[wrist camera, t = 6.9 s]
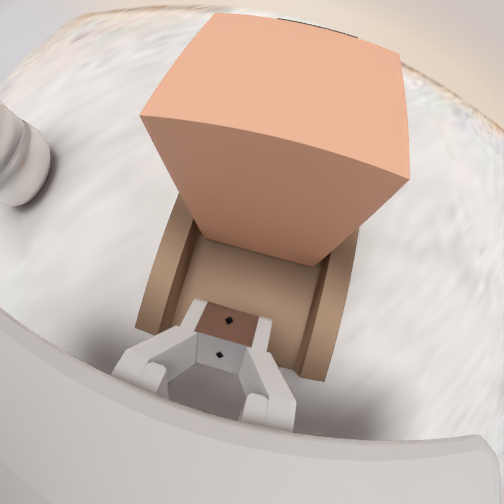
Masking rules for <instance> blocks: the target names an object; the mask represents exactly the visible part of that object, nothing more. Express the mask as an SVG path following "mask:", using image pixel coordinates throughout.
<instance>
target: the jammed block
mask: <svg viewBox="0 0 504 504" xmlns="http://www.w3.org/2000/svg"><path fill="white" fill-rule="evenodd" d="M140 117H141V119H142V121H143V123H144V125H145V127H146V129H147V131H148V133H149V135H150V137H151V139H152V141H153V143H154V145H155V147H156V149H157V151H158V153H159V155H160V157H161V158H162V160H163V162H164V164H165V166H166V168H167V170H168V172H169V174H170V176H171V178H172V179H173V181H174V183H175V185H176V187H177V189H178V191H179V193H180V194H181V196H182V198H183V200H184V202H185V204H186V206H187V207H188V209H189V211H190V213H191V215H192V217H193V218H194V220H195V222H196V224H197V226H198V227H199V229H200V231H201V233H202V235H203V236H204V238H206V239H210V240H213V241H217V242H221V243H224V244H228V245H232V246H236V247H239V248H243V249H247V250H251V251H254V252H258V253H262V254H265V255H269V256H273V257H277V258H280V259H284V260H288V261H291V262H295V263H299V264H303V265H306V266H310V267H314V266H315V265H316V264H318V263H319V262H320V261H321V260H322V259H323V258H324V257H326V256H327V255H328V254H329V253H330V252H331V251H333V250H334V249H335V248H336V247H337V246H338V245H339V244H340V243H342V242H343V241H344V240H345V239H346V238H347V237H348V236H349V235H351V234H352V233H353V232H354V231H355V230H356V229H357V228H358V227H359V226H361V225H362V224H363V223H364V222H365V221H366V220H367V219H368V218H369V217H370V216H372V215H373V214H374V213H375V212H376V211H377V210H378V209H379V208H380V207H381V206H382V205H383V204H384V203H385V202H387V201H388V200H389V199H390V198H391V197H392V196H393V195H394V194H395V193H396V192H397V191H398V190H399V189H400V188H401V187H402V186H403V185H404V184H405V183H406V182H407V181H408V180H409V179H410V164H409V134H408V119H407V108H406V98H405V90H404V82H403V75H402V69H401V63H400V58H399V54H398V53H395V52H393V51H391V50H388V49H386V48H383V47H380V46H378V45H375V44H372V43H369V42H366V41H364V40H361V39H358V38H355V37H352V36H348V35H345V34H342V33H338V32H335V31H331V30H327V29H323V28H319V27H315V26H311V25H306V24H302V23H297V22H291V21H286V20H280V19H274V18H267V17H259V16H250V15H240V14H225V13H215V14H214V15H213V16H212V17H211V18H210V19H209V21H208V22H207V23H206V24H205V25H204V26H203V27H202V29H201V30H200V31H199V32H198V33H197V35H196V36H195V37H194V38H193V39H192V41H191V42H190V43H189V44H188V46H187V47H186V48H185V49H184V51H183V52H182V53H181V55H180V56H179V57H178V59H177V60H176V61H175V63H174V64H173V65H172V67H171V68H170V69H169V71H168V72H167V74H166V75H165V76H164V78H163V79H162V81H161V82H160V84H159V85H158V87H157V88H156V90H155V91H154V93H153V94H152V96H151V97H150V99H149V100H148V102H147V104H146V105H145V107H144V108H143V110H142V112H141V113H140Z"/></svg>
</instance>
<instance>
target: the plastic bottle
mask: <svg viewBox="0 0 504 504" xmlns="http://www.w3.org/2000/svg"><path fill="white" fill-rule="evenodd" d="M50 163H51V159H50V149H49V145H48V144H47V142H46V141H45V139H44V137H43V136H42V134H41V132H39V131H38V130H37V129H35V128H34V127H33V126H31V125H30V124H29V123H27V122H25V121H24V120H21V119H20V118H19V117H17V116H16V115H15V114H14V113H13V112H12V111H11V110H9V109H8V108H7V107H6V106H5V105H4V104H2V103H1V102H0V203H1V204H4V205H7V206H11V207H15V206H19V205H22V204H25V203H27V202H29V201H30V200H31V199H32V198H33V197H34V196H35V195H36V194H37V193H38V192H39V190H40V189H41V187H42V186H43V184H44V182H45V180H46V178H47V175H48V173H49V169H50Z"/></svg>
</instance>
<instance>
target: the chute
mask: <svg viewBox="0 0 504 504" xmlns="http://www.w3.org/2000/svg"><path fill="white" fill-rule="evenodd" d="M278 19H280V18H278ZM280 20H286V19H280ZM286 21H291V20H286ZM291 22H297V21H291ZM297 23H302V22H297ZM302 24H306V23H302ZM306 25H311V24H306ZM311 26H315V25H311ZM315 27H319V26H315ZM319 28H323V27H319ZM323 29H327V28H323ZM327 30H331V29H327ZM331 31H334V30H331ZM335 32H338V31H335ZM338 33H342V32H338ZM342 34H345V33H342ZM345 35H348V34H345ZM348 36H352V35H348ZM352 37H355V36H352ZM355 38H357V37H355ZM358 232H359V227H358V228H357V229H356V230H355V231H354V232H353V233H352V234H351V235H349V236H348V237H347V238H346V239H345V240H344V241H343V242H342V243H340V244H339V245H338V246H337V247H336V248H335V249H334V250H333V251H331V252H330V253H329V254H328V255H327V256H326V257H324V258H323V259H322V260H321V261H320V262H319V263H318V264H316V265H315V266H314V267H310V266H306V265H303V264H299V263H295V262H291V261H288V260H284V259H280V258H277V257H273V256H269V255H265V254H262V253H258V252H254V251H251V250H247V249H243V248H239V247H236V246H232V245H228V244H224V243H221V242H217V241H213V240H210V239H206V238H204V236H203V235H202V233H201V231H200V229H199V227H198V226H197V224H196V222H195V220H194V218H193V217H192V215H191V213H190V211H189V209H188V207H187V206H186V204H185V202H184V200H183V198H182V196H181V194H180V193H179V194H178V197H177V199H176V202H175V205H174V207H173V210H172V213H171V215H170V218H169V221H168V223H167V226H166V229H165V232H164V235H163V237H162V240H161V243H160V246H159V249H158V252H157V255H156V258H155V261H154V264H153V267H152V270H151V273H150V277H149V280H148V283H147V286H146V290H145V293H144V296H143V300H142V303H141V307H140V310H139V314H138V318H137V321H136V325H135V328H137V329H140V330H142V331H145V332H147V333H150V334H153V335H157V334H159V333H162V332H164V331H166V330H168V329H170V328H172V327H174V326H179V327H180V325H181V323H182V321H183V319H184V317H185V315H186V313H187V311H188V310H189V308H190V306H191V304H192V302H193V300H194V299H195V298H199V299H202V300H205V301H208V302H212V303H215V304H218V305H222V306H225V307H228V308H231V309H235V310H239V311H243V312H247V313H250V314H254V315H258V316H262V317H266V318H270V319H272V327H271V332H270V337H269V342H268V347H267V352H269V353H271V355H272V357H273V359H274V360H275V362H276V364H277V366H280V367H284V368H288V369H293V370H294V371H295V372H296V373H297V374H298V376H299V377H302V378H307V379H312V380H317V381H322V382H324V381H325V378H326V374H327V371H328V368H329V364H330V361H331V357H332V354H333V350H334V346H335V342H336V339H337V335H338V331H339V327H340V323H341V318H342V314H343V310H344V306H345V301H346V297H347V292H348V287H349V282H350V277H351V272H352V267H353V261H354V256H355V250H356V244H357V238H358Z"/></svg>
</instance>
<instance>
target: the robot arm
mask: <svg viewBox="0 0 504 504" xmlns="http://www.w3.org/2000/svg"><path fill="white" fill-rule="evenodd" d="M271 327H272V319H270V318H266V317H262V316H258V315H254V314H250V313H247V312H243V311H239V310H235V309H231V308H228V307H225V306H222V305H218V304H215V303H212V302H208V301H205V300H202V299H199V298H195V299H194V300H193V302H192V304H191V306H190V308H189V310H188V311H187V313H186V315H185V317H184V319H183V321H182V323H181V325H180V327H179V326H174V327H172V328H170V329H168V330H166V331H164V332H162V333H159V334H157V335H155V336H153V337H151V338H149V339H147V340H145V341H143V342H141V343H139V344H137V345H135V346H133V347H130V348H128V349H126V350H125V352H124V353H123V355H122V357H121V358H120V360H119V361H118V363H117V365H116V366H115V368H114V369H113V371H112V373H111V374H110V375H108V374H106V373H104V372H102V371H100V370H98V369H96V368H94V367H92V366H90V365H88V364H87V363H85V362H83V361H81V360H79V359H77V358H75V357H74V356H72V355H70V354H68V353H67V352H65V351H63V350H61V349H60V348H58V347H56V346H55V345H53V344H52V343H50V342H48V341H47V340H45V339H44V338H42V337H40V336H39V335H37V334H36V333H34V332H33V331H31V330H30V329H28V328H27V327H26V326H24V325H23V324H21V323H20V322H18V321H17V320H16V319H14V318H13V317H12V316H10V315H9V314H8V313H6V312H5V311H4V310H2V309H1V308H0V504H501V484H500V470H499V463H498V458H497V455H496V454H495V452H494V451H493V449H492V448H491V447H490V445H489V444H488V443H487V441H486V440H485V439H484V438H483V437H482V436H481V435H477V434H476V435H467V436H460V437H452V438H442V439H429V440H408V441H377V440H355V439H341V438H331V437H322V436H313V435H306V434H299V433H293V428H294V420H295V412H296V403H297V402H296V400H295V398H294V396H293V394H292V392H291V390H290V389H289V387H288V385H287V383H286V381H285V379H284V377H283V376H282V374H281V372H280V370H279V368H278V366H277V364H276V362H275V360H274V359H273V357H272V355H271V353H269V352H267V347H268V342H269V337H270V332H271ZM195 362H196V363H199V364H203V365H206V366H210V367H213V368H217V369H220V370H223V371H227V372H230V373H233V374H236V375H238V377H239V380H240V383H241V386H242V389H243V392H244V394H245V397H246V401H245V403H244V405H243V408H242V410H241V413H240V415H239V417H238V420H237V421H235V420H232V419H228V418H224V417H220V416H217V415H213V414H210V413H207V412H203V411H200V410H197V409H194V408H191V407H188V406H185V405H182V404H179V403H176V402H173V401H170V400H169V395H168V385H167V383H169V382H170V381H172V380H173V379H174V378H176V377H177V376H179V375H180V374H182V373H183V372H184V371H186V370H187V369H189V368H190V367H191V366H193V365H194V364H195Z"/></svg>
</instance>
